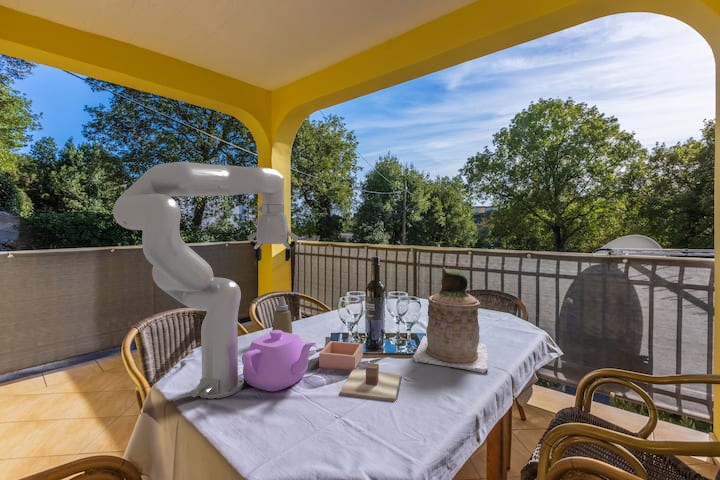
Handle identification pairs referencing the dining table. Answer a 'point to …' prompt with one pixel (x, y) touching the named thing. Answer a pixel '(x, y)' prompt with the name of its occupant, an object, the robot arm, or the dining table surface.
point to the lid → (372, 383)
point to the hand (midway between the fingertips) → (273, 260)
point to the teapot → (275, 361)
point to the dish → (341, 355)
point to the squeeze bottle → (282, 317)
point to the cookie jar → (453, 327)
